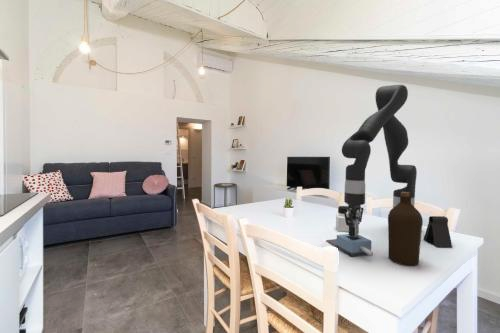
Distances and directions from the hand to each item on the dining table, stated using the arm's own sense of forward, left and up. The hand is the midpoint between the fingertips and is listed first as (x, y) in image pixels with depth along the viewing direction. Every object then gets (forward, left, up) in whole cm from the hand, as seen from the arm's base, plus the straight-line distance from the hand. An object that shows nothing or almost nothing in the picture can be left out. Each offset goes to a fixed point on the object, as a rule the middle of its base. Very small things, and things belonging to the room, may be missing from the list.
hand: (353, 234), depth 98 cm
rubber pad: (+1, -9, -7) cm, 11 cm away
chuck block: (0, +3, -7) cm, 7 cm away
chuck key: (0, 0, -4) cm, 4 cm away
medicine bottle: (-14, -25, -7) cm, 30 cm away
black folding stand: (-40, +3, -7) cm, 41 cm away
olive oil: (-12, +12, -7) cm, 18 cm away
